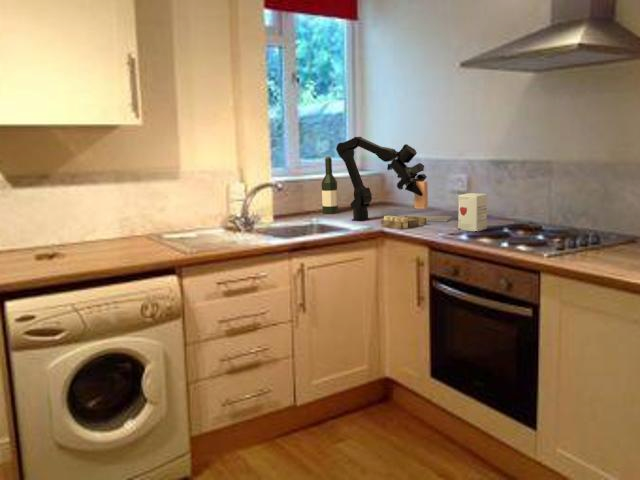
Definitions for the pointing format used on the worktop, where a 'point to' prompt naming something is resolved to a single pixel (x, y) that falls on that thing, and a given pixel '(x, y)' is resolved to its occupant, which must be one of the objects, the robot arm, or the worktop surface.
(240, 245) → the worktop surface
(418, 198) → the orange rectangular block
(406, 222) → the oak offcut
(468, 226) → the supplement box
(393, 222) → the walnut rack
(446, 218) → the slate tile
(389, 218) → the ash offcut
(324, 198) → the wine bottle
